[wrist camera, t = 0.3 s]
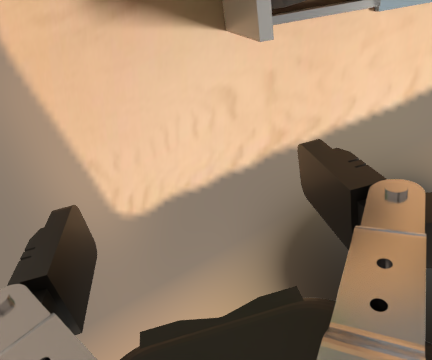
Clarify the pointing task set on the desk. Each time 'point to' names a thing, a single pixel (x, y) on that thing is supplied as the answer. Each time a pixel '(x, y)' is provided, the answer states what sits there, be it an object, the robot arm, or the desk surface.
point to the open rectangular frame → (277, 15)
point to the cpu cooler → (284, 3)
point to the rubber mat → (398, 4)
